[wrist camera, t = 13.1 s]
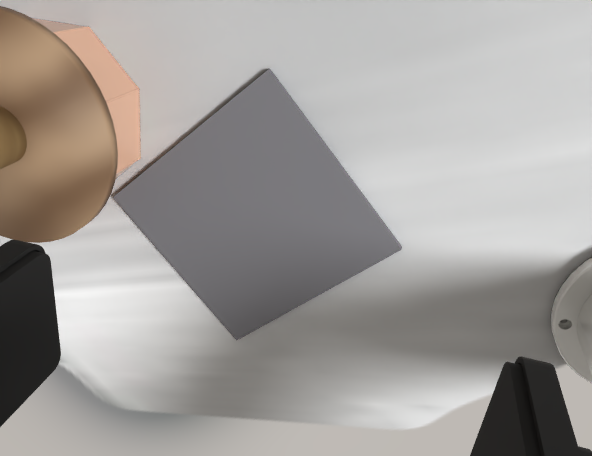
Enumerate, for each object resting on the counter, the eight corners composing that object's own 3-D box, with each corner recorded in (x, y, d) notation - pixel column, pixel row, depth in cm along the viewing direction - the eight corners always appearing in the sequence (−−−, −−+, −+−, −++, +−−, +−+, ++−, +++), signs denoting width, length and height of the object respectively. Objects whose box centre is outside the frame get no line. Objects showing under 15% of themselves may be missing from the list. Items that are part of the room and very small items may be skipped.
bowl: (173, 130, 41) (134, 154, 35) (72, 216, 46) (25, 248, 41) (51, -20, 38) (-11, -19, 33) (-41, 90, 43) (-107, 107, 38)
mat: (401, 246, 40) (401, 249, 40) (238, 336, 48) (236, 340, 47) (269, 68, 37) (267, 69, 36) (115, 195, 44) (112, 197, 44)
